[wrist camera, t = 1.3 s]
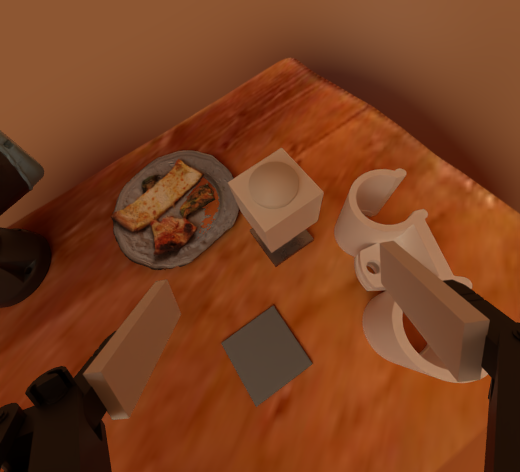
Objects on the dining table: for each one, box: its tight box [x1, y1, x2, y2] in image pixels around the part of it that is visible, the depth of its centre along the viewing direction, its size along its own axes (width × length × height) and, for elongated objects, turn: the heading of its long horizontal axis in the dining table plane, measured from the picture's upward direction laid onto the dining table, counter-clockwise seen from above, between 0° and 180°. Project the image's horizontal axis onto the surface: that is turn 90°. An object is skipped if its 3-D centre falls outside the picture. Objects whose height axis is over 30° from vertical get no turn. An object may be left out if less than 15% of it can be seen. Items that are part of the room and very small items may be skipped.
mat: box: [221, 306, 312, 407], centre depth 37 cm, size 10×10×1 cm
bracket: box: [334, 169, 488, 383], centre depth 34 cm, size 25×10×12 cm, turn 12°
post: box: [250, 228, 313, 267], centre depth 39 cm, size 8×8×11 cm
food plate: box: [111, 150, 239, 270], centre depth 47 cm, size 25×23×4 cm
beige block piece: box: [228, 148, 324, 253], centre depth 32 cm, size 8×8×9 cm
